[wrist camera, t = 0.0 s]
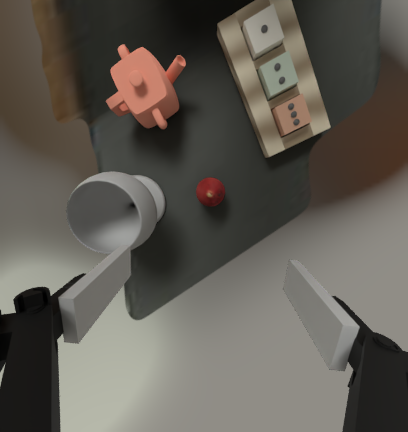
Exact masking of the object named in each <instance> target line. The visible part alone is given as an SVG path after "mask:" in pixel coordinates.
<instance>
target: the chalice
mask: <svg viewBox="0 0 408 432" xmlns="http://www.w3.org/2000/svg"><path fill="white" fill-rule="evenodd" d="M165 206H166V202H165V196H164V193H163V191H162V189H161V188H160V187H159V185H158V184H157V183H156V182H155V181H153V180H152V179H150V178H148V177H146V176H141V175H132V176H131V175H128V174H125V173H120V172H103V173H100V174H97V175H94V176H91V177H89V178H88V179H86V180H85V181H83V182H82V183H81V184H79V185H78V186H77V187H76V189H75V190H74V191H73V193H72V194H71V196H70V198H69V200H68V204H67V211H66V212H67V220H68V224H69V227H70V229H71V231H72V233H73V234H74V235H75V237H76V238H77V239H78V240H79V241H80V242H81V243H82V244H84V246H86V247H88V248H89V249H91V250H94V251H97V252H99V253H105V254H111V253H112V252H113V251H115V250H116V249H117V248H118V247H119V246H121V245H128V246H130V250H133V249H134V248H136V247H138V246H140V245H141V244H143V243H144V242H145V241H146V240H147V239H148V238H149V237H150V235H151V234H152V232H153V231H154V228H155V226H156V223H157V222H158V221H159V220H160V219H161V218H162V216H163V214H164V212H165Z"/></svg>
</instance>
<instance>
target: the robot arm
mask: <svg viewBox="0 0 408 432" xmlns="http://www.w3.org/2000/svg"><path fill="white" fill-rule="evenodd" d="M130 276H131V255H130V246H128V245H121V246H119V247H118V248H117V249H116V250H115V251H113V252H112V253H111V254H110V255H109V256H107V257H106V258H105V259H104V260H103V261H101V262H100V263H99V264H98V265H97V266H95V267H94V268H93V269H92V270H91V271H89V272H88V273H87V274H84V273H83V274H81V275H79V276H77V277H74V278H73V279H72V280H71V281H70V282H68V283H67V284H66V285H64V286H63V288H61V289H59V290H58V291H57V292H56V293H54V294H53V295H52V296H50V291H49V289H48V288H46V287H36V288H31V289H28V290H26V291H24V292H22V293H20V294H19V295H17V296H16V297H15V298H14V305H15V310H16V313H11V314H4V315H1V310H0V372H1V370H2V368H3V366H4V364H5V363H6V364H5V368H4V373H3V377H2V382H1V386H0V432H60V406H59V405H60V402H59V371H58V370H59V369H58V343H57V339H58V338H59V337H60V336H61V335H62V334H63V336H64V342H69V343H79V342H80V341H81V340H82V338H83V337H84V336H85V334H86V333H87V332H88V330H89V329H90V328H91V326H92V325H93V324H94V323H95V321H96V320H97V319H98V317H99V316H100V315H101V313H102V312H103V311H104V310H105V308H106V307H107V306H108V304H109V303H110V302H111V300H112V299H113V298H114V297H115V295H116V294H117V293H118V291H119V290H120V289H121V287H122V286H123V285H124V284H125V282H126V281H127V280H128V278H129V277H130ZM283 290H284V292H285V293H286V295H287V297H288V298H289V300H290V302H291V303H292V305H293V307H294V308H295V311H296V312H297V314H298V316H299V318H300V319H301V321H302V323H303V325H304V326H305V328H306V330H307V331H308V333H309V335H310V337H311V338H312V340H313V342H314V344H315V345H316V347H317V349H318V350H319V352H320V354H321V356H322V358H323V359H324V361H325V363H326V364H327V366H328V368H329V370H338V371H345V369H346V366H347V362H349V364H350V365H351V367H352V368H353V373H352V376H351V378H350V381H349V384H348V387H349V388H350V389H349V395H348V401H347V407H346V413H345V419H344V426H343V432H408V352H405V351H402V349H401V348H400V347H399V346H398V345H397V344H396V343H395V342H393V341H392V340H391V339H389V338H387V337H385V336H383V335H381V334H379V333H375V332H373V331H372V330H371V329H370V328H369V327H368V326H367V325H366V324H365V323H364V322H363V321H362V320H361V319H360V318H359V317H358V316H357V315H355V313H354V312H353V311H352V310H350V308H349V307H348V306H347V305H346V304H345V303H344V302H343V301H342V300H340V299H339V298H337V297H336V296H331V295H330V294H329V293H328V292H327V291H326V290H325V289H324V288H323V287H322V285H321V284H320V283H319V282H318V281H317V280H316V279H315V278H314V277H313V276H312V275H311V273H310V272H309V271H308V270H307V269H306V268H305V267H304V266H303V265H302V264H301V263H300V262H299V261H298V260H289V263H288V268H287V273H286V278H285V282H284V287H283Z"/></svg>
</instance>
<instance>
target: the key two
mask: <svg viewBox="0 0 408 432" xmlns="http://www.w3.org/2000/svg"><path fill="white" fill-rule="evenodd" d="M257 75H258V77H259V80H260V83H261V85H262V88H263V91H264V94H265V96H266V99H267V101H269V100H271V99H273V98H275V97H277V96H278V95H280V94H282V93H284V92H286V91H288V90H290V89H292V88H293V87H294V86H295V85H296V84H297V83H298V82H299V80H298V77H297V74H296V71H295V68H294V65H293V62H292V59H291V56H290V53H289V50H288V51H287V52H285V53H283V54H281V55H280V56H278V57H276V58H274V59H272V60H271V61H269V62H267V63H265V64H263V65H262V66H260V68H259V70H258V72H257Z"/></svg>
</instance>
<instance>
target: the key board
mask: <svg viewBox="0 0 408 432" xmlns="http://www.w3.org/2000/svg"><path fill="white" fill-rule="evenodd" d="M272 4H274V7H275V10H276V13H277V16H278V19H279V22H280V25H281V28H282V31H283V35H284V39H283V41H282V43H281V45H280V46H279V47H278V48H276V49H274V50H272V51H271V52H269V53H267V54H265V55H264V56H262V57H260V58H258V59H257V60H255V61H252V58H251V56H250V53H249V50H248V47H247V45H246V42H245V39H244V36H243V34H242V28H243V23H244V21H245V20H247V19H249V18H250V17H252V16H254V15H255V14H257V13H259V12H260V11H262V10H264V9H265V8H267V7H268V6H270V5H272ZM217 37H218V39H219V42H220V45H221V47H222V50H223V52H224V55H225V57H226V60H227V62H228V65H229V67H230V70H231V72H232V75H233V78H234V80H235V83H236V85H237V88H238V90H239V93H240V95H241V98H242V100H243V103H244V105H245V108H246V111H247V113H248V116H249V118H250V121H251V123H252V126H253V128H254V131H255V133H256V136H257V138H258V141H259V144H260V146H261V149H262V151H263V154H264V156H265V158H267V157H271V156H273V155H275V154H277V153H279V152H281V151H283V150H285V149H287V148H289V147H291V146H293V145H296V144H298V143H300V142H302V141H304V140H306V139H308V138H310V137H312V136H314V135H316V134H318V133H320V132H323V131H325V130H327V129H329V128H331V126H330V123H329V120H328V117H327V113H326V110H325V107H324V104H323V101H322V97H321V94H320V91H319V88H318V84H317V81H316V78H315V75H314V71H313V68H312V65H311V62H310V58H309V55H308V52H307V49H306V45H305V42H304V39H303V36H302V33H301V29H300V26H299V23H298V20H297V16H296V13H295V10H294V7H293V3H292V0H255V1H253V2H252V3H250V4H248V5H247V6H245V7H244V8H242V9H240V10H239V11H237V12H236V13H234V14H232V15H231V16H229V17H227V18H226V19H224V20H223V21H221V22H219V23H218V24H217ZM288 50H289V53H290V56H291V59H292V62H293V65H294V68H295V71H296V74H297V77H298V80H299V82H298V83H297V84H296V85H295V86H294V87H293V88H292V89H290V90H289V91H287V92H285V93H283V94H281V95H279V96H277V97H275V98H274V99H272V100H270V101H268V102H267V99H266V96H265V94H264V91H263V88H262V85H261V83H260V80H259V77H258V75H257V72H258V70H259V68H260V66H262V65H263V64H265V63H267V62H269V61H271V60H272V59H274V58H276V57H278V56H280V55H281V54H283V53H285V52H287V51H288ZM302 93H303V96H304V99H305V102H306V105H307V108H308V111H309V114H310V117H311V120H312V122H310V123H308V124H306V125H304V126H302V127H303V128H301V129H299V130H297V131H295V132H293V133H291V134H289V135H287V136H285V137H283V138H281V137H280V134H279V132H278V129H277V126H276V124H275V121H274V118H273V115H272V113H271V111H272V110H273V109H274V108H275V107H277V106H279V105H281V104H283V103H285V102H287V101H289V100H291V99H292V98H294V97H296V96H298V95H300V94H302Z"/></svg>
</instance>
